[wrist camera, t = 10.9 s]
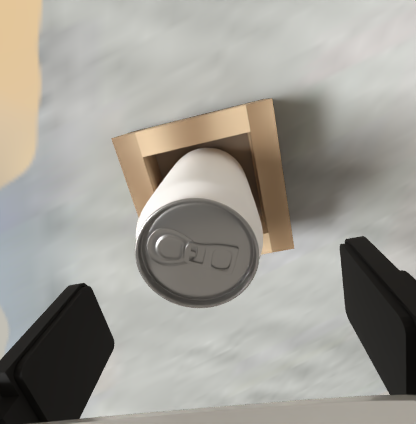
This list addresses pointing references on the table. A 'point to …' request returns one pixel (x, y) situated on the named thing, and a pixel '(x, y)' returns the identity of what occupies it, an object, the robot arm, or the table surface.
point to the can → (200, 232)
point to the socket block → (224, 140)
